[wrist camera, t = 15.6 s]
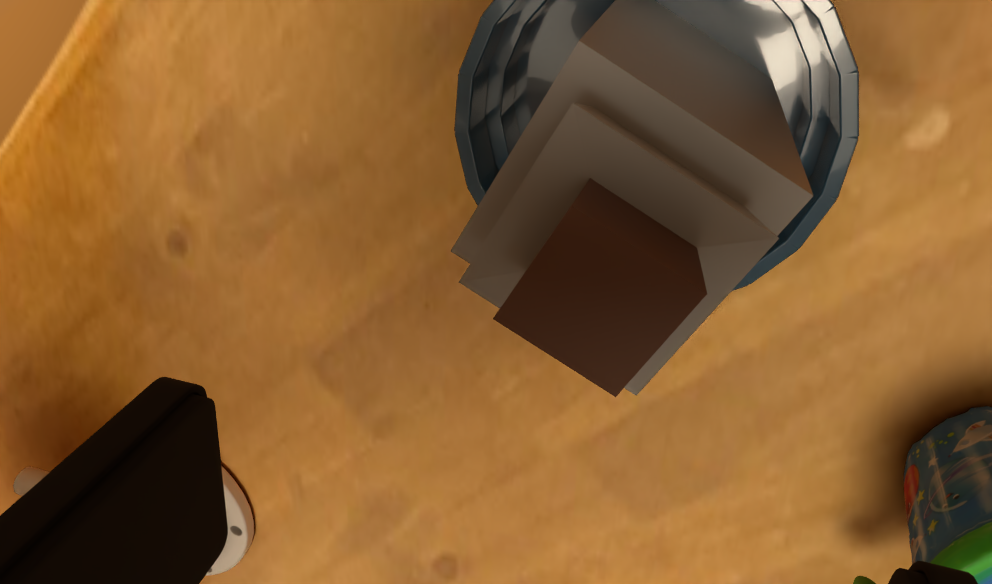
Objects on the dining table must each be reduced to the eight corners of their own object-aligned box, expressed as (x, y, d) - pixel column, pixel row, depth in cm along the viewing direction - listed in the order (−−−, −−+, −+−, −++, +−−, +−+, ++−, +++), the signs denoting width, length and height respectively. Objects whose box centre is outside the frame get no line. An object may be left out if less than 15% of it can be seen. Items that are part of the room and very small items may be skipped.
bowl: (477, 220, 36) (443, 269, 31) (509, -109, 29) (470, -110, 24) (777, 278, 34) (788, 340, 29) (888, -64, 27) (927, -57, 22)
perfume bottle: (541, 125, 32) (392, 330, 17) (629, -16, 29) (543, 80, 14) (669, 209, 33) (635, 483, 17) (771, 78, 29) (842, 278, 14)
